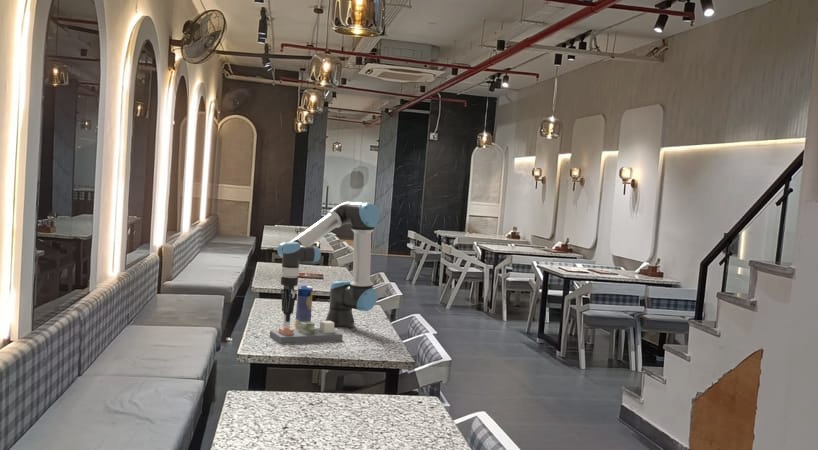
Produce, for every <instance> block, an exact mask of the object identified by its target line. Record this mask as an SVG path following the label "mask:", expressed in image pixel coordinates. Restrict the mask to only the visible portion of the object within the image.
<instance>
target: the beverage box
mask: <svg viewBox="0 0 818 450" xmlns="http://www.w3.org/2000/svg"><path fill="white" fill-rule="evenodd" d="M313 292H314V290H313V286H312V285H297V293H296V310H295V322H294V323H295V324H294V325H295V326H294V329H300V322H309V321H310V322H312V308H313V307H312V306H313Z"/></svg>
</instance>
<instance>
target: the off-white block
mask: <svg viewBox="0 0 818 450" xmlns="http://www.w3.org/2000/svg"><path fill="white" fill-rule="evenodd" d="M319 328H320V332H322V333H334V330H335V328H334V322H332V321H325V320H320V321H319Z"/></svg>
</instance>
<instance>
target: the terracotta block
mask: <svg viewBox="0 0 818 450" xmlns="http://www.w3.org/2000/svg"><path fill="white" fill-rule="evenodd" d="M278 330H279V334H281V335H293V332H294V329H293V328H291V327H290V329H283V327H279V328H278Z"/></svg>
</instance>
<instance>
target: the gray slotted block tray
mask: <svg viewBox="0 0 818 450" xmlns="http://www.w3.org/2000/svg"><path fill="white" fill-rule="evenodd" d="M293 330H294V332H293V335H281V334H279V329H276V330H274V329H273V330H269V338H270V339H272V340H274V341H275V342H276V343H277V344H279V345H289V344H290V345H291V344H309V343H310V344H311V343H312V344H313V343H327V342H330V343H332V342H343V338H344V337H343V333H341V332H339V331H337V330H335V329H334V333H322V332H320V327H319V328H314V334H302V333H300V329H295V328H294V329H293Z"/></svg>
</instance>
